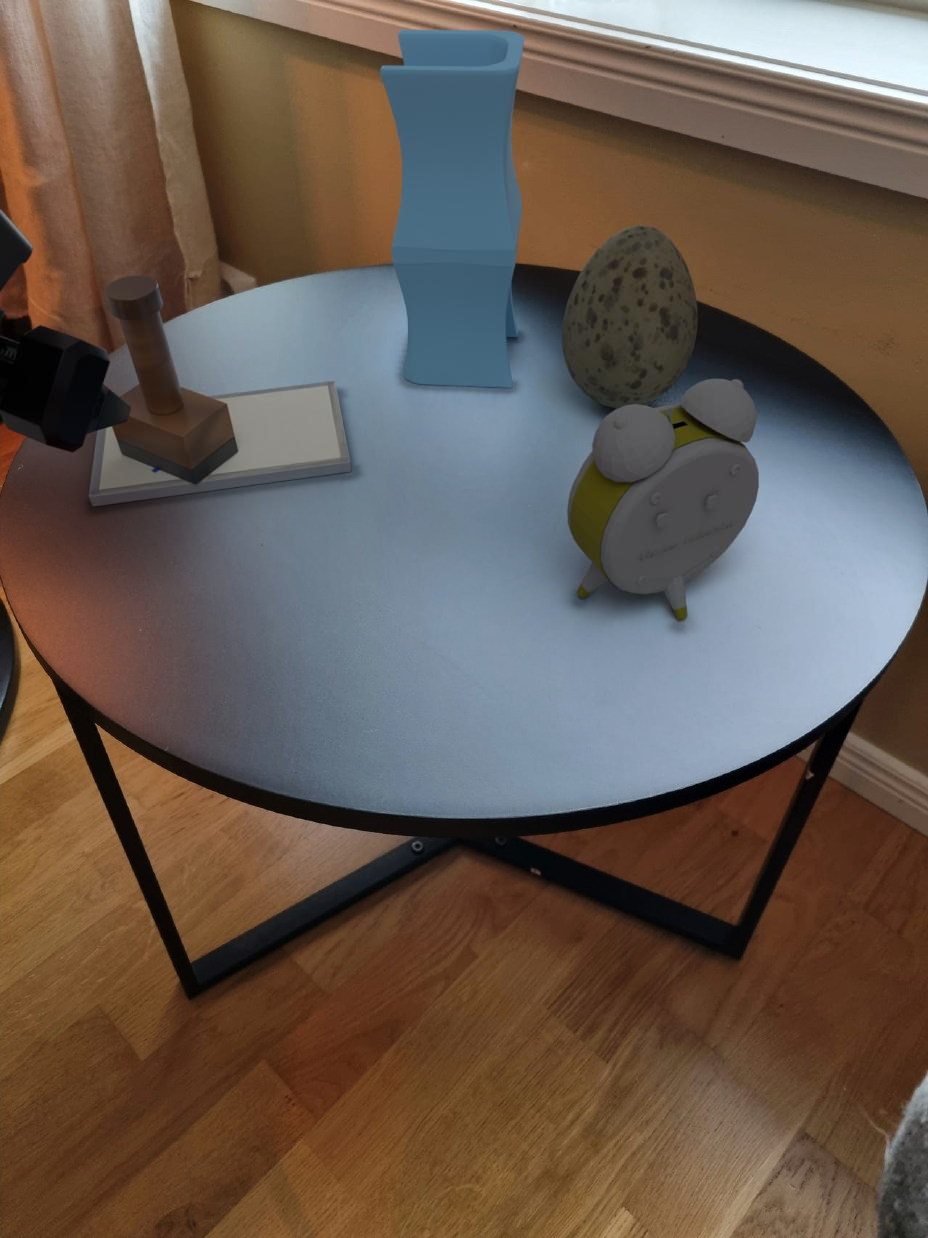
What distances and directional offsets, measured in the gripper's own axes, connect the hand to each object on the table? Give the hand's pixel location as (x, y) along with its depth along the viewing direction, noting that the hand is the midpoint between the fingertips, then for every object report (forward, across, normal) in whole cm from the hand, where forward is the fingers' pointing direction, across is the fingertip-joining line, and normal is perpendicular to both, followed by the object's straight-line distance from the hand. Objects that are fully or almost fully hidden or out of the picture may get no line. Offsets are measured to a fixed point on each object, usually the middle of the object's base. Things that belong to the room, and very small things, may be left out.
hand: (78, 395), depth 63 cm
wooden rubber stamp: (+12, 0, +2) cm, 12 cm away
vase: (+30, -11, -15) cm, 36 cm away
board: (+15, -1, 0) cm, 15 cm away
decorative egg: (+30, -27, -16) cm, 44 cm away
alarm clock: (+16, -38, -1) cm, 42 cm away
